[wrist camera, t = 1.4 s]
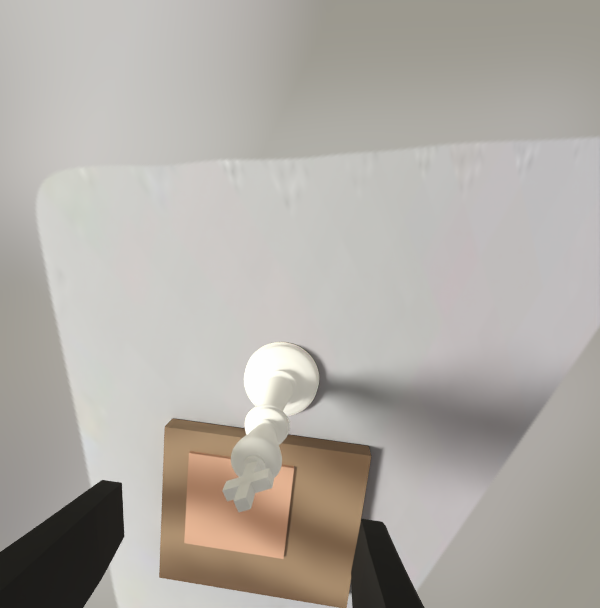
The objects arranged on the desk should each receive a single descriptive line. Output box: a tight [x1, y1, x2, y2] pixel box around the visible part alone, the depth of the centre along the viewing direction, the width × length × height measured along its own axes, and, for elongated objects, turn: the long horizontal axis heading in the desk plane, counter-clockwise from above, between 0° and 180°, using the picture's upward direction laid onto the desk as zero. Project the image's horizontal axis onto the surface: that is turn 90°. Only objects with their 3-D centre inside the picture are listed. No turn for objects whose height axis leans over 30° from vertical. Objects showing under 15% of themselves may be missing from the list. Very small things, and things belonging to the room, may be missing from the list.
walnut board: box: [159, 419, 371, 608], centre depth 20 cm, size 12×14×1 cm
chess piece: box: [222, 342, 319, 512], centre depth 14 cm, size 5×5×10 cm
